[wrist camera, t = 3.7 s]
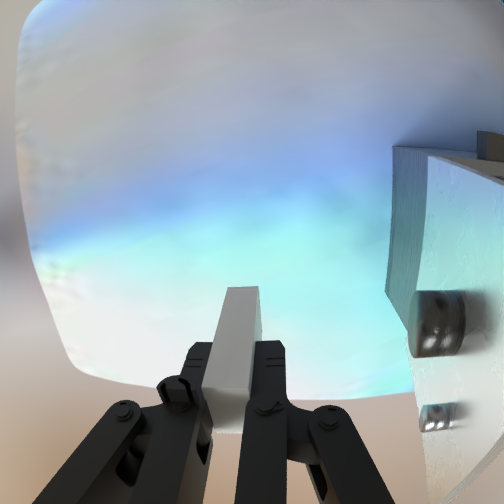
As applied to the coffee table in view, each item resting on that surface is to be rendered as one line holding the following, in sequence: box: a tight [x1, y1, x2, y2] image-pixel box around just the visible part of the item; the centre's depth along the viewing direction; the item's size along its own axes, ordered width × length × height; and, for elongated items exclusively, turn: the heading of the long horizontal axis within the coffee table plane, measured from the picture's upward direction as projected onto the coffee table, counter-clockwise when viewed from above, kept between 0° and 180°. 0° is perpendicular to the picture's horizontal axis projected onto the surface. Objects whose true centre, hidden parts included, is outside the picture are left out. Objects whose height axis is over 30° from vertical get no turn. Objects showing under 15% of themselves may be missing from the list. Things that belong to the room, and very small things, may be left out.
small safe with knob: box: [385, 131, 504, 331], centre depth 21 cm, size 18×14×8 cm
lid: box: [405, 156, 504, 504], centre depth 12 cm, size 14×14×3 cm
